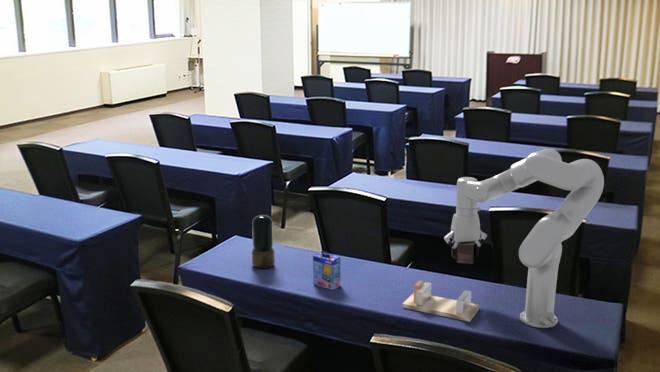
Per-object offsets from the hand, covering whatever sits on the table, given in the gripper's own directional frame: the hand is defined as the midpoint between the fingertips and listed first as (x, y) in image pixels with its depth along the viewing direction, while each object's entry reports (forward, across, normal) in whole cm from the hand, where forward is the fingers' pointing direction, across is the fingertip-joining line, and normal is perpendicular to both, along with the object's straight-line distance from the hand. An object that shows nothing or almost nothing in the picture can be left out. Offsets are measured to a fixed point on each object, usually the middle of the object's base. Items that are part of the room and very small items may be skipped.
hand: (465, 256), depth 250 cm
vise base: (+16, +12, +8) cm, 22 cm away
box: (+2, 0, 0) cm, 2 cm away
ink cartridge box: (+15, +48, -21) cm, 55 cm away
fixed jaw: (+15, +6, +13) cm, 20 cm away
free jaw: (+14, +18, +3) cm, 23 cm away
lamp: (+14, +70, -47) cm, 86 cm away
